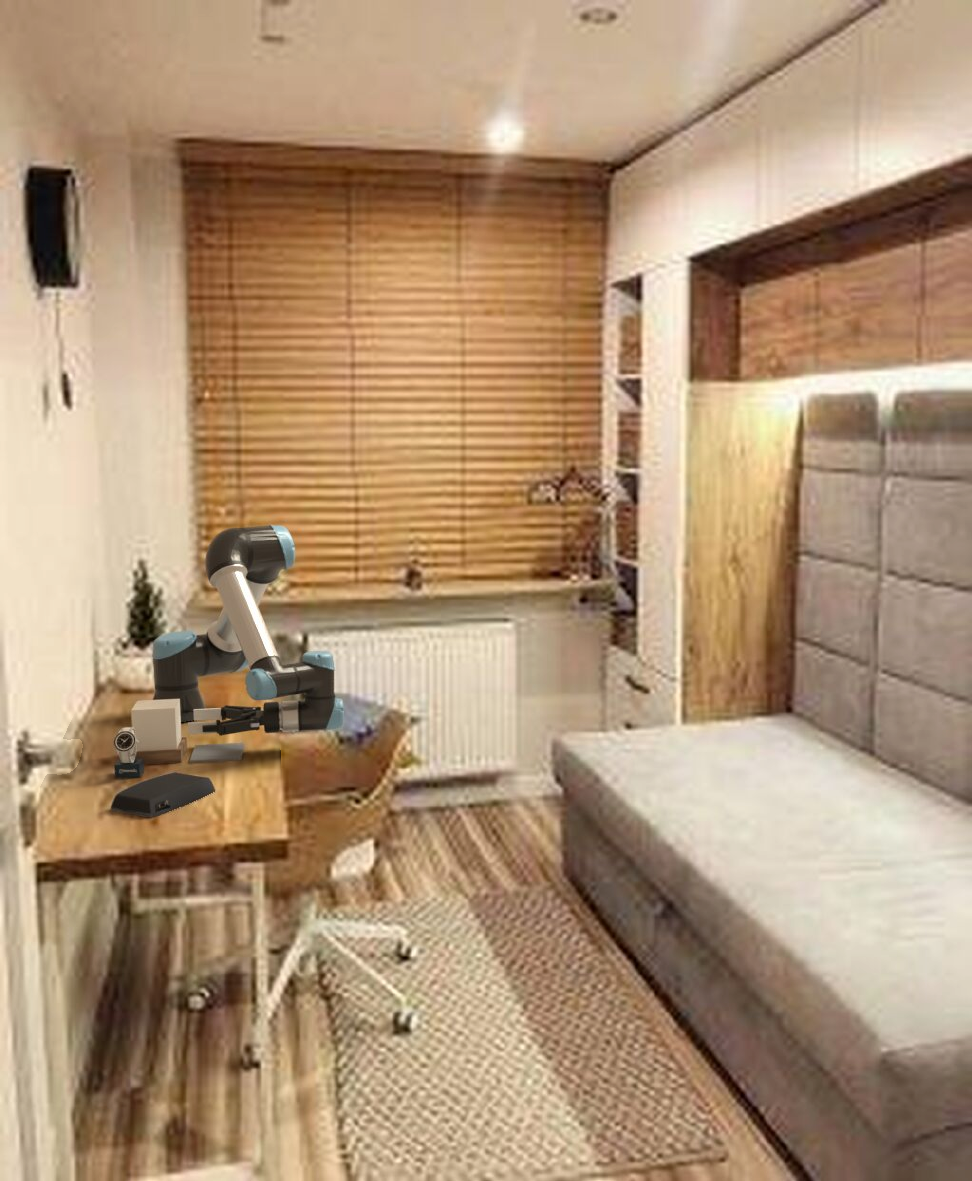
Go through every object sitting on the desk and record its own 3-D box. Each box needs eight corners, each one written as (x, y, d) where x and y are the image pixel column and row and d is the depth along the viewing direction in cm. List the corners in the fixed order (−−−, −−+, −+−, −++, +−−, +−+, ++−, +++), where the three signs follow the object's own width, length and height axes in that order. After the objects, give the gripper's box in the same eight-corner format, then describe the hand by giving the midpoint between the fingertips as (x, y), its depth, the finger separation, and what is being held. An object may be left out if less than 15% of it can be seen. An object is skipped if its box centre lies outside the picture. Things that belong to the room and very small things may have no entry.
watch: (112, 780, 251) (110, 733, 250) (121, 770, 259) (118, 724, 258) (138, 780, 251) (135, 732, 250) (146, 769, 259) (143, 723, 258)
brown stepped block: (136, 751, 275) (135, 727, 274) (186, 748, 277) (185, 725, 276) (129, 765, 263) (127, 740, 262) (181, 762, 265) (180, 737, 264)
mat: (195, 747, 278) (195, 745, 278) (244, 744, 280) (244, 742, 280) (189, 763, 264) (189, 760, 264) (241, 760, 266) (241, 757, 266)
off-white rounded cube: (139, 740, 274) (137, 700, 272) (181, 738, 275) (179, 698, 274) (133, 751, 264) (131, 710, 263) (176, 749, 265) (174, 708, 264)
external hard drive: (106, 811, 231) (105, 792, 231) (173, 786, 248) (172, 768, 248) (154, 821, 225) (153, 801, 225) (218, 794, 242) (218, 775, 242)
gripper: (279, 745, 261) (186, 750, 258) (281, 719, 286) (196, 724, 282) (278, 714, 260) (185, 718, 257) (280, 691, 285) (195, 695, 281)
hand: (190, 721), depth 270 cm, fingers open, 13 cm apart
